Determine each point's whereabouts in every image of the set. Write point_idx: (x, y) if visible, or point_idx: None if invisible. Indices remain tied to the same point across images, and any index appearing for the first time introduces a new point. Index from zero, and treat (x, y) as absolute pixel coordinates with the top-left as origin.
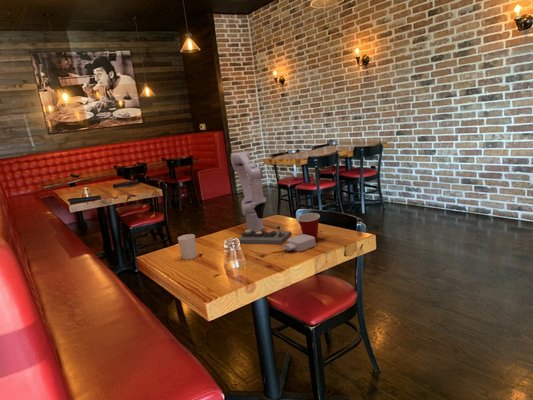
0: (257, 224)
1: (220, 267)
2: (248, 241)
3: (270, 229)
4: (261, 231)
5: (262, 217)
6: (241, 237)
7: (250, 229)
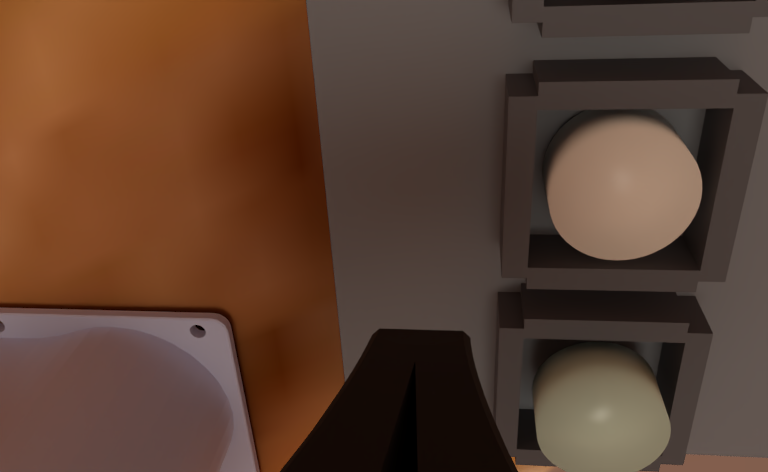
0: (118, 408)
1: None
2: None
3: None
4: (576, 155)
5: (414, 337)
6: (699, 425)
7: (559, 402)
